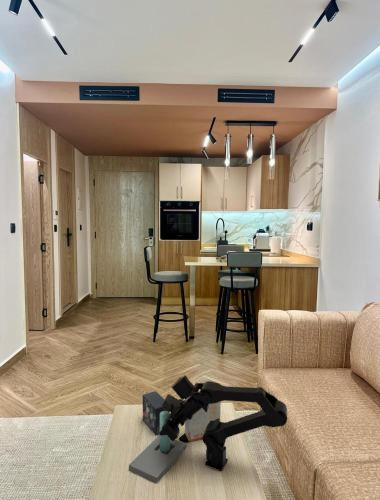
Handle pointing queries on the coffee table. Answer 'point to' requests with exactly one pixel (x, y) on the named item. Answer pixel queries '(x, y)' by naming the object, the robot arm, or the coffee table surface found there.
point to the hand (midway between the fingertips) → (161, 430)
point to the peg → (164, 438)
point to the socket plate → (156, 460)
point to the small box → (152, 410)
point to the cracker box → (201, 421)
